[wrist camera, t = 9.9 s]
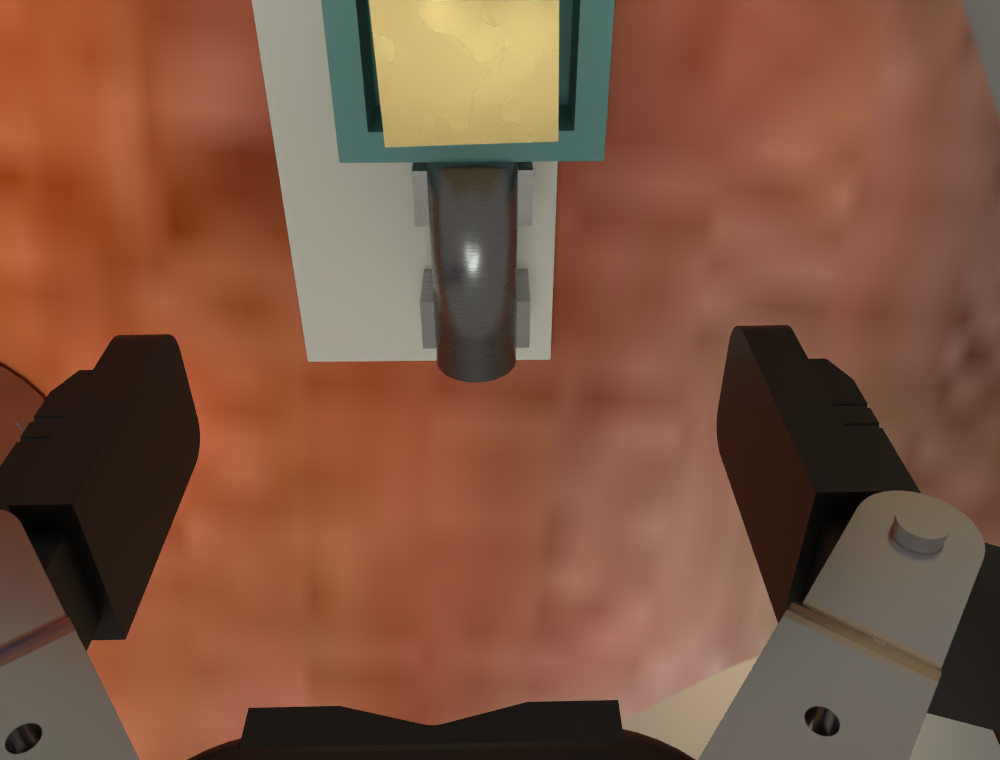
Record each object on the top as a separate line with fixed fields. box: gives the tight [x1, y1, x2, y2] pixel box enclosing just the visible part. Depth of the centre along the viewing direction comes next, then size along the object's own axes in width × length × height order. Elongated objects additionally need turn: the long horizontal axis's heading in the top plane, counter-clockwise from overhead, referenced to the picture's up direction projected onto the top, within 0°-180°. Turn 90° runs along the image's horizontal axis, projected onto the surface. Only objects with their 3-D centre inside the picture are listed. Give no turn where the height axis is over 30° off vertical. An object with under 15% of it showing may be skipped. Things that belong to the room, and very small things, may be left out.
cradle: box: [321, 0, 615, 163], centre depth 27 cm, size 8×8×3 cm
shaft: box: [412, 162, 533, 382], centre depth 32 cm, size 8×4×4 cm, turn 0°
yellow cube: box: [369, 0, 559, 147], centre depth 26 cm, size 5×5×5 cm
